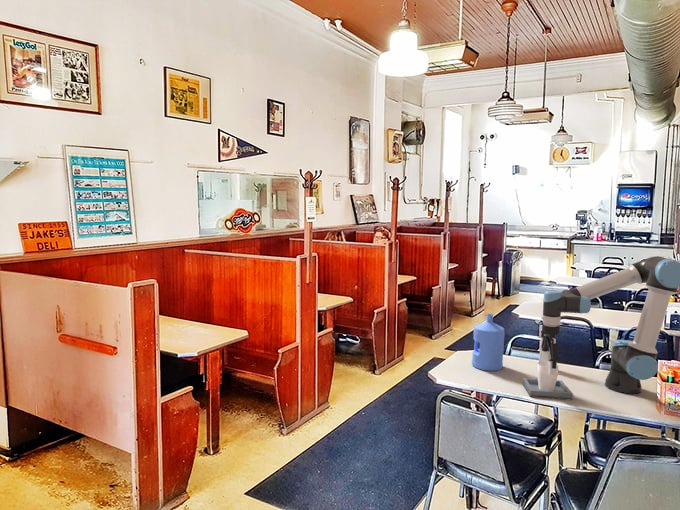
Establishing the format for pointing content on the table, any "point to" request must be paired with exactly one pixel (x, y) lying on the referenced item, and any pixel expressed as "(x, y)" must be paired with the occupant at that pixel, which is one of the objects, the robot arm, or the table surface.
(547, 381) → the cup
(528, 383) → the tray
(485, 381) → the table surface
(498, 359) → the water jug
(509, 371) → the table surface
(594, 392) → the table surface
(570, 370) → the table surface
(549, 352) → the travel mug
